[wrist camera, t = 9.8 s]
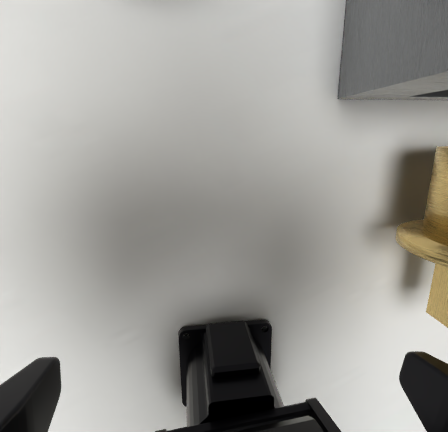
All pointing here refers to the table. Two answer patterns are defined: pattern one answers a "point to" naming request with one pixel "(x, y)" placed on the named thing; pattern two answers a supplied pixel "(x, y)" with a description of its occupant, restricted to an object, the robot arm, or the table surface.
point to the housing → (395, 50)
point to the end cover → (432, 236)
